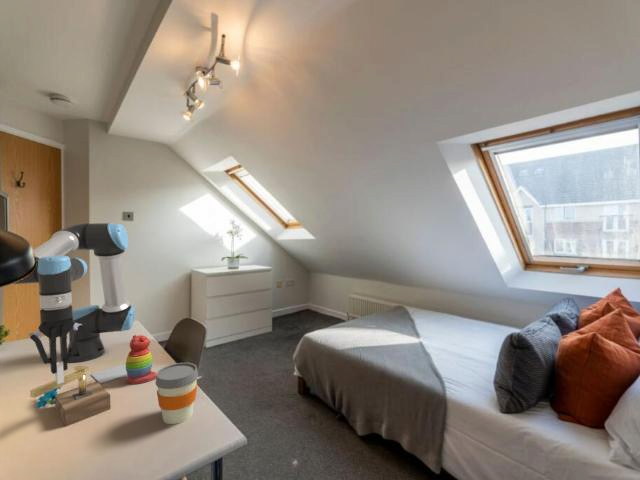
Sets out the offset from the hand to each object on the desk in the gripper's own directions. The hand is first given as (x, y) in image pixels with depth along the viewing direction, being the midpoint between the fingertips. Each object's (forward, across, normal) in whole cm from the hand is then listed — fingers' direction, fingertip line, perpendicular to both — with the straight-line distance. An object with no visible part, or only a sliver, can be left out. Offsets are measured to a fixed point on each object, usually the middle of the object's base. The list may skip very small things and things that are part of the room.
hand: (59, 381), depth 96 cm
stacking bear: (+15, +28, +13) cm, 34 cm away
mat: (+15, +22, +26) cm, 37 cm away
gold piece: (+8, +1, +3) cm, 9 cm away
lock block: (+14, +7, +5) cm, 16 cm away
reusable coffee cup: (+14, +26, -23) cm, 37 cm away
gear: (+14, 0, +18) cm, 23 cm away
